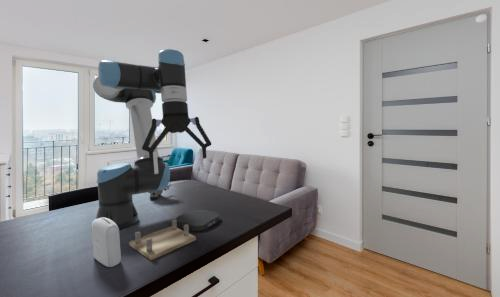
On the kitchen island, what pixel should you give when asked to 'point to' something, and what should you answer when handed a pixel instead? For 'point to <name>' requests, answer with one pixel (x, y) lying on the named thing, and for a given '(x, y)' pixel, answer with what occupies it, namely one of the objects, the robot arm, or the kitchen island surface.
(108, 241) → the photo printer
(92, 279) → the kitchen island surface
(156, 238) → the peg board
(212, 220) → the media streaming box
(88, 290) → the kitchen island surface
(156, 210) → the kitchen island surface
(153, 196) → the figurine
